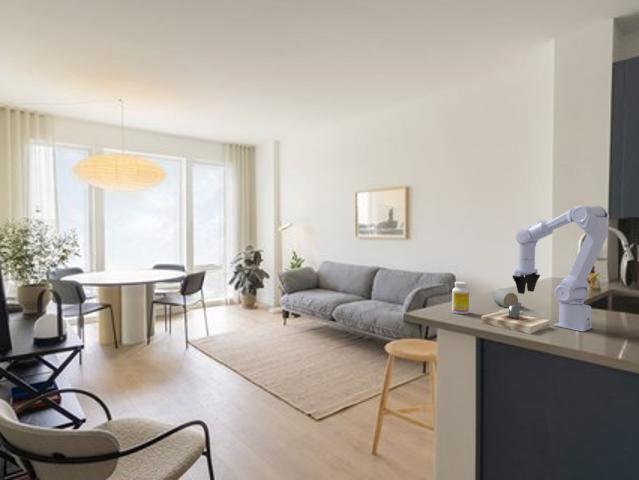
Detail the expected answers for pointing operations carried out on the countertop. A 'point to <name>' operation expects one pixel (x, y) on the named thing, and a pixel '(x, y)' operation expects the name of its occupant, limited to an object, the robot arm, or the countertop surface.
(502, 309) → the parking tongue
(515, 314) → the peg
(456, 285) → the supplement bottle
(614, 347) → the countertop surface
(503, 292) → the ceramic mug
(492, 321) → the hole plate
